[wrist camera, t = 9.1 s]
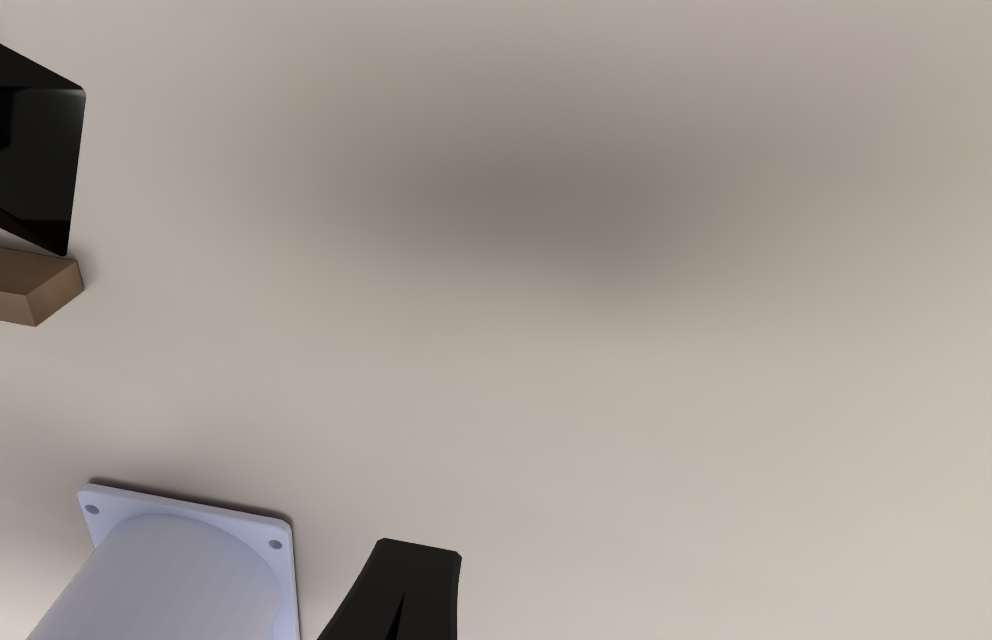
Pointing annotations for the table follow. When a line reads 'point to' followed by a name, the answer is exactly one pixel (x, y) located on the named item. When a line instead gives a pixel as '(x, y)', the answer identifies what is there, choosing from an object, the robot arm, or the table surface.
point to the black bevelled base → (38, 150)
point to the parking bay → (35, 286)
